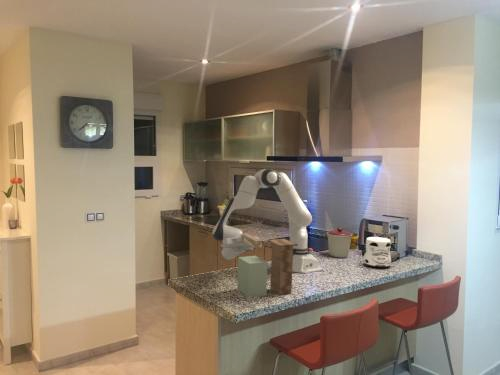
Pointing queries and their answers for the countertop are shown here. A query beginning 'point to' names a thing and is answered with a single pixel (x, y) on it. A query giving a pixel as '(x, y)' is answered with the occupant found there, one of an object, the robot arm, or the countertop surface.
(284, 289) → the walnut stand
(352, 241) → the condiment
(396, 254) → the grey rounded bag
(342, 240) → the canister
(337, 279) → the countertop surface
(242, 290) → the sage box
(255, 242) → the beech bar
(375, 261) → the white piece
